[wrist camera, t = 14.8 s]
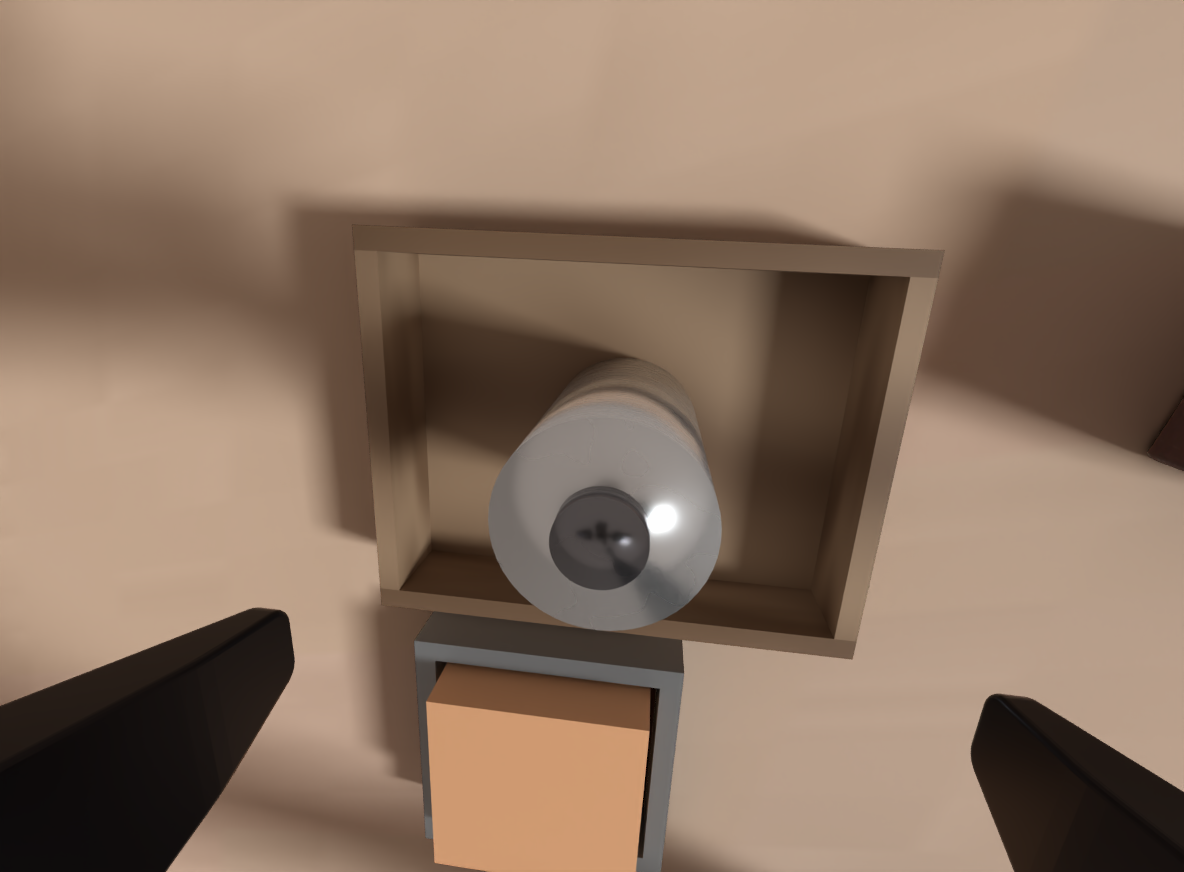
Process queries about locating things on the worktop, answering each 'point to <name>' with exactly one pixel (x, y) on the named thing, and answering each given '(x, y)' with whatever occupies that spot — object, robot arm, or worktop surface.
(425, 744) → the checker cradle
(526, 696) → the pad
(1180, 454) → the box
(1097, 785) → the robot arm
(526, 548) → the cylinder
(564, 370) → the tray
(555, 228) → the worktop surface
